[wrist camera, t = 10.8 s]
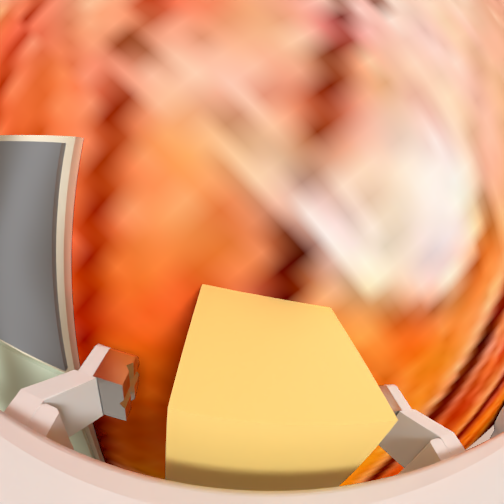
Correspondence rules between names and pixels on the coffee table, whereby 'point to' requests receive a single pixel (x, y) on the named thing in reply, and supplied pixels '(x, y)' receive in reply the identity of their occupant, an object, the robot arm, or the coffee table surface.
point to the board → (38, 266)
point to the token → (270, 397)
